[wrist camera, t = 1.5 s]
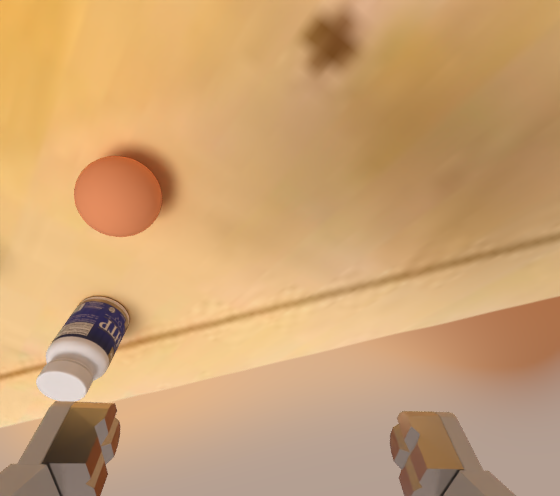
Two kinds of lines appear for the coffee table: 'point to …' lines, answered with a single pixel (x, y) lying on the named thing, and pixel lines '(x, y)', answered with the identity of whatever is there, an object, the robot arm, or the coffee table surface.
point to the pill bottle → (83, 349)
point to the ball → (118, 196)
